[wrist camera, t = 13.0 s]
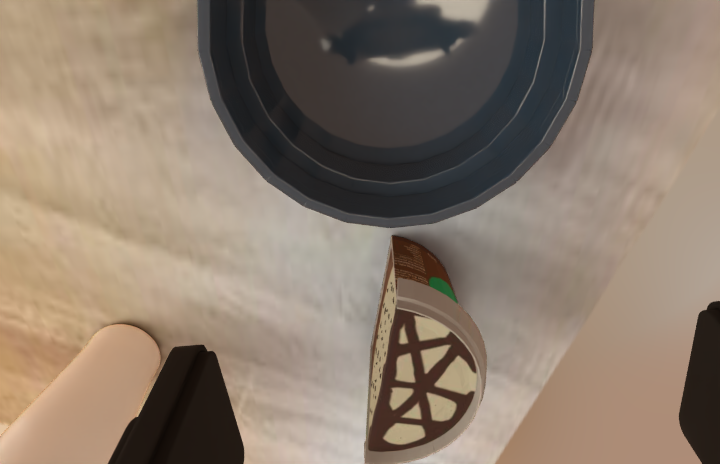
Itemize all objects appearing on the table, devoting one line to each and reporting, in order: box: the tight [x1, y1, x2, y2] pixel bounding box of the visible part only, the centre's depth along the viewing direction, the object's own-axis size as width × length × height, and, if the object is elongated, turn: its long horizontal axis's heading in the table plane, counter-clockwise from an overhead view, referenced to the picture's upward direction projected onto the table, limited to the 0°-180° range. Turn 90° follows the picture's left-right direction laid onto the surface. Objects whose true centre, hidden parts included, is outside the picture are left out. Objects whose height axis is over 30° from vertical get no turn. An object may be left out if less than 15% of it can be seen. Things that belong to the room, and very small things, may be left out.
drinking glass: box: [0, 324, 160, 464], centre depth 36 cm, size 7×7×15 cm
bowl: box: [197, 0, 595, 228], centre depth 29 cm, size 18×18×6 cm
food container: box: [364, 235, 487, 464], centre depth 35 cm, size 12×6×10 cm, turn 172°
